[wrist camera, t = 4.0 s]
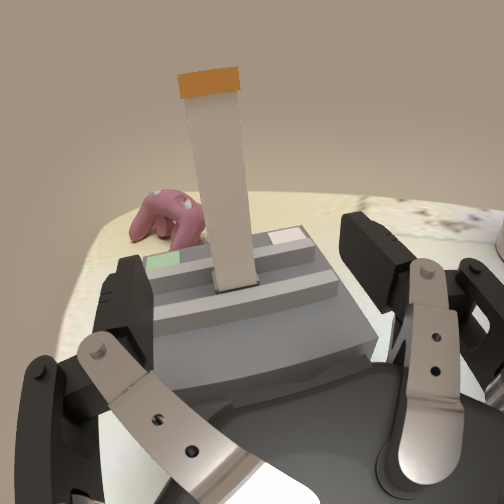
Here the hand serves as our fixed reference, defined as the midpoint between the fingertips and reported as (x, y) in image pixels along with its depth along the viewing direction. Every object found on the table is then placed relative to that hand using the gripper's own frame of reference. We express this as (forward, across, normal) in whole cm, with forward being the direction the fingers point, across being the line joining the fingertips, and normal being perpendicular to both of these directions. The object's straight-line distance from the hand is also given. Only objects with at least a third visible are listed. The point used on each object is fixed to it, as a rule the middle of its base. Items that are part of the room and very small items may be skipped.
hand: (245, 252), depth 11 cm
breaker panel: (+6, 0, +11) cm, 13 cm away
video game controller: (+20, +6, +11) cm, 24 cm away
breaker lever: (+7, 0, +8) cm, 10 cm away
